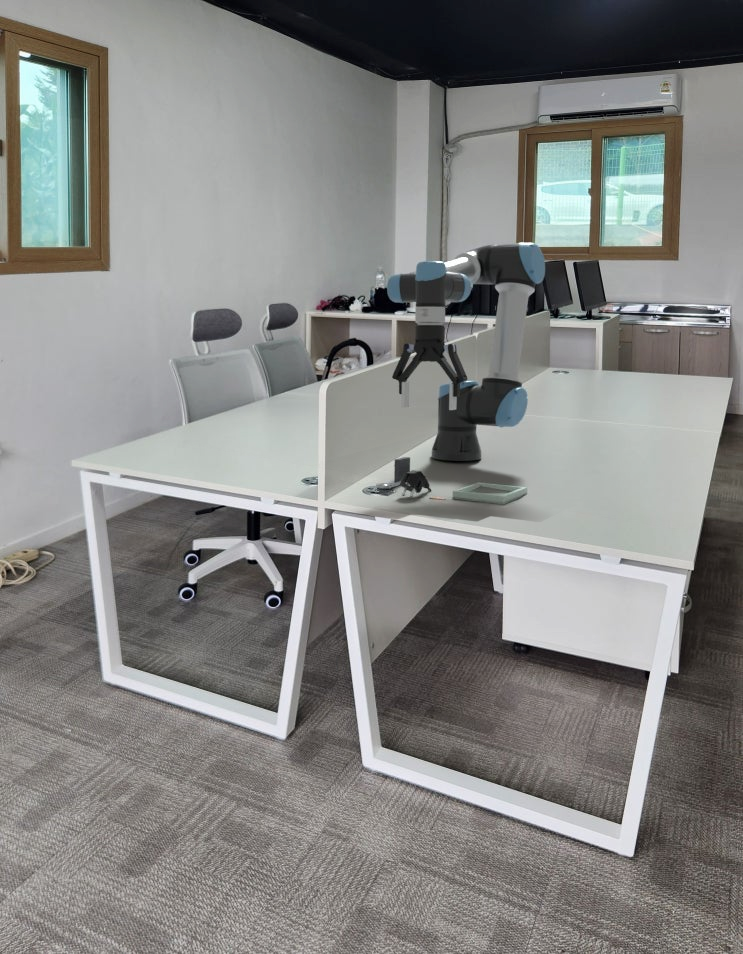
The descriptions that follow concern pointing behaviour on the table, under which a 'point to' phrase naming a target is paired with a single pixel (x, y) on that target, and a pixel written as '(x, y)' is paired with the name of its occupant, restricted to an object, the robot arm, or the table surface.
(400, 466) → the crank
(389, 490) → the hub
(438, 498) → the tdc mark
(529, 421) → the table surface
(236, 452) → the table surface
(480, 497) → the tray
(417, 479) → the power plug
